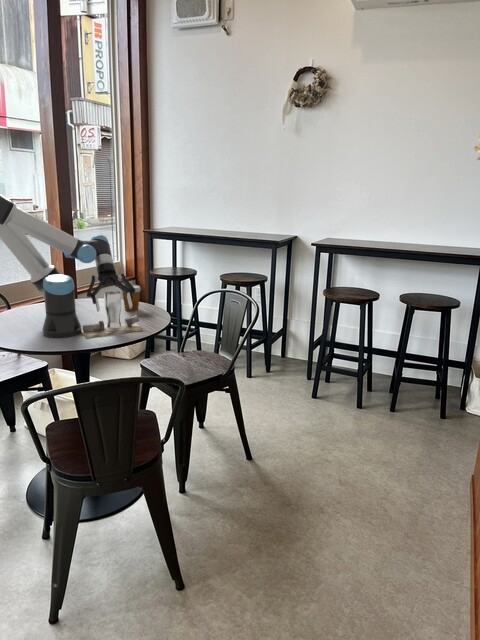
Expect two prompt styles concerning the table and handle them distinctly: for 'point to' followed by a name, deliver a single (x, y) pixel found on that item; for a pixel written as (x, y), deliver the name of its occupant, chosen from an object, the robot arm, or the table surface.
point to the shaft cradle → (102, 330)
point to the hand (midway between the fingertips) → (115, 308)
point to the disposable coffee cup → (134, 302)
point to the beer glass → (113, 308)
